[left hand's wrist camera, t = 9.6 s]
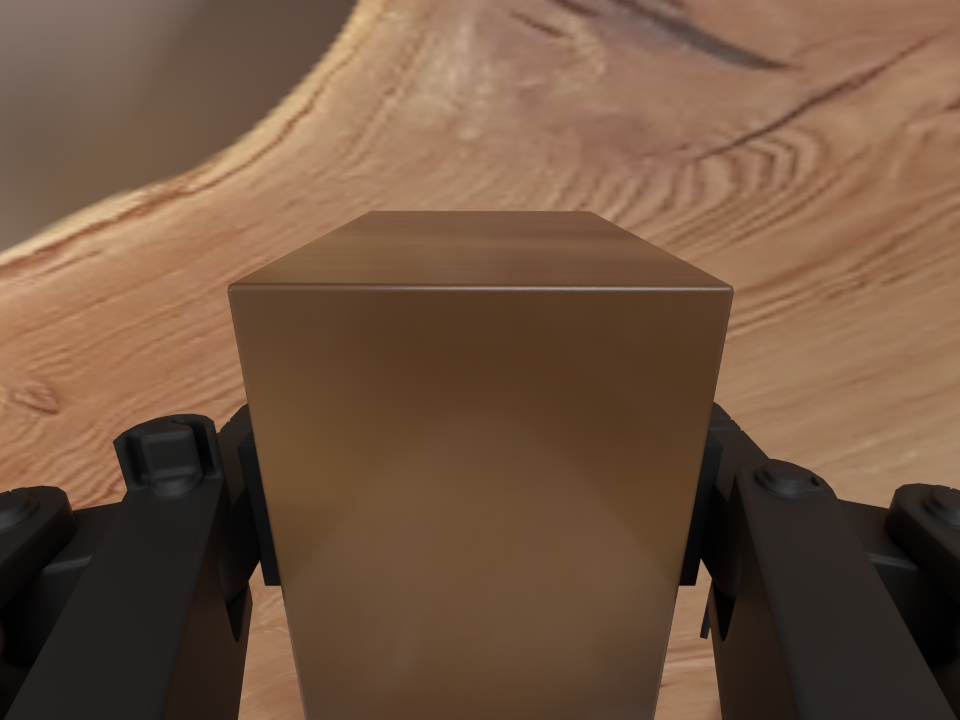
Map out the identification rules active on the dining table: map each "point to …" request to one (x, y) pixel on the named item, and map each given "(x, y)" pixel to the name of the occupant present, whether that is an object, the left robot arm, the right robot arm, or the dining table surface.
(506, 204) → the dining table surface
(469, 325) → the bar
